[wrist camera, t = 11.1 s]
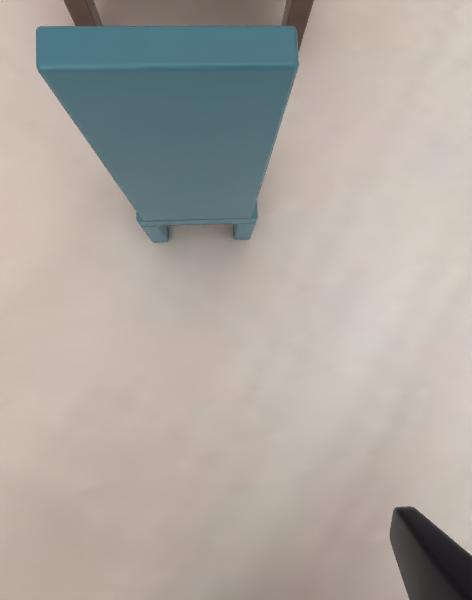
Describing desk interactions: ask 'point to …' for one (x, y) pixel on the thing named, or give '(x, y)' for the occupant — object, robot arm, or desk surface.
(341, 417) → the desk surface
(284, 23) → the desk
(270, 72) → the chair
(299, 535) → the desk surface
